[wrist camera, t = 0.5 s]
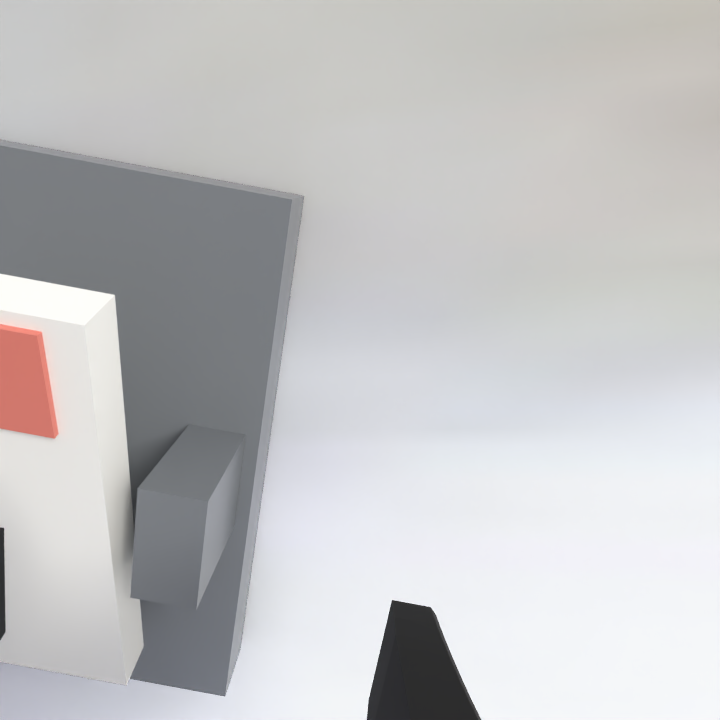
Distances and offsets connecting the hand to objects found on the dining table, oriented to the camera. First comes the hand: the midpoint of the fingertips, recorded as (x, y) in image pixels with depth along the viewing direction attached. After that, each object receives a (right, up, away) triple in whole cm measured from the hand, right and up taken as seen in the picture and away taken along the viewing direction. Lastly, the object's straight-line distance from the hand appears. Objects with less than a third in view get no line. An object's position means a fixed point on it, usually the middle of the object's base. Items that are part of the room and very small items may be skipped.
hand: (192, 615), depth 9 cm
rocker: (-6, +1, +5) cm, 8 cm away
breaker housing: (-6, +2, +10) cm, 11 cm away
